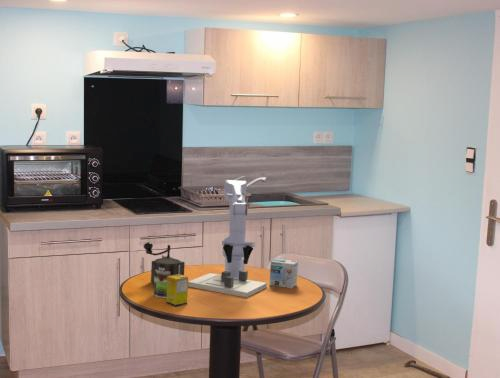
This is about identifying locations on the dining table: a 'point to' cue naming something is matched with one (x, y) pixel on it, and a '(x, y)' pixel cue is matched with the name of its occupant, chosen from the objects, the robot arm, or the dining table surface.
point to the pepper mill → (148, 248)
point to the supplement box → (177, 290)
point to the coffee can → (164, 275)
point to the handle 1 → (228, 281)
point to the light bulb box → (283, 273)
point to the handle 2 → (243, 275)
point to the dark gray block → (224, 275)
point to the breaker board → (238, 289)
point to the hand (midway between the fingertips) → (237, 263)
